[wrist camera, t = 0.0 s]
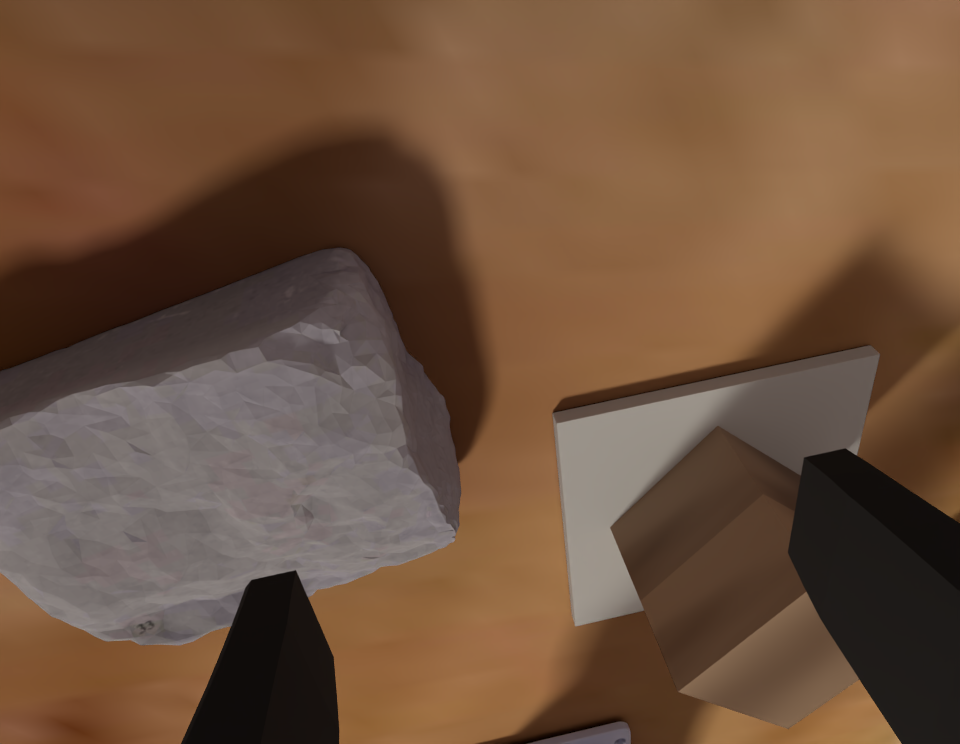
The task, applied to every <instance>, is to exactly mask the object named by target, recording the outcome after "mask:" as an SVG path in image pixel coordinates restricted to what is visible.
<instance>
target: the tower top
mask: <svg viewBox="0 0 960 744" xmlns="http://www.w3.org/2000/svg"><path fill="white" fill-rule="evenodd" d="M794 513H795V511H793V510H791V509H789V508H787V507H786V506H784V505H782V504H780V503H778V502H777V501H775V500H773V499H771V498H770V497H768V496H766V495H764V494H763V495H762V496H761V497H759V498H758V499H757V500H756V501H755V502H754V503H752V504H751V505H750V506H749V507H748V508H747V509H746V510H744V511H743V512H742V513H741V514H740V515H739V516H738V517H736V518H735V519H734V520H733V521H732V522H731V523H729V524H728V525H727V526H726V527H725V528H724V529H723V530H721V531H720V532H719V533H718V534H717V535H716V536H715V537H713V538H712V539H711V540H710V541H709V542H708V543H706V544H705V545H704V546H703V547H702V548H701V549H700V550H698V551H697V552H696V553H695V554H694V555H693V556H692V557H690V558H689V559H688V560H687V561H686V562H685V563H683V564H682V565H681V566H680V567H679V568H678V569H677V570H675V571H674V572H673V573H672V574H671V575H670V576H669V577H667V578H666V579H665V580H664V581H663V582H662V583H660V584H659V585H658V586H657V587H656V588H655V589H654V590H652V591H651V592H650V593H649V594H648V595H647V596H646V597H644V598H643V599H642V600H641V604H642V606H643V609H644V611H645V614H646V616H647V618H648V621H649V623H650V626H651V628H652V630H653V633H654V635H655V638H656V640H657V642H658V645H659V647H660V650H661V652H662V655H663V657H664V659H665V662H666V664H667V667H668V669H669V671H670V674H671V676H672V679H673V681H674V684H675V686H676V688H677V691H678V692H680V693H683V694H686V695H689V696H692V697H695V698H698V699H701V700H704V701H707V702H710V703H713V704H716V705H719V706H721V707H724V708H727V709H730V710H733V711H736V712H739V713H742V714H745V715H748V716H751V717H754V718H757V719H760V720H763V721H766V722H769V723H772V724H775V725H778V726H781V727H784V728H787V729H789V728H790V727H792V726H793V725H795V724H796V723H797V722H799V721H800V720H802V719H803V718H805V717H806V716H808V715H809V714H810V713H812V712H813V711H815V710H816V709H818V708H819V707H820V706H822V705H823V704H825V703H826V702H828V701H829V700H830V699H832V698H833V697H835V696H836V695H838V694H839V693H840V692H842V691H843V690H845V689H846V688H848V687H849V686H850V685H852V684H853V683H855V682H856V681H858V680H859V678H858V676H857V675H856V673H855V672H854V670H853V669H852V667H851V666H850V664H849V663H848V661H847V660H846V658H845V657H844V655H843V653H842V652H841V650H840V649H839V647H838V646H837V644H836V643H835V641H834V640H833V638H832V636H831V635H830V633H829V632H828V630H827V629H826V627H825V625H824V624H823V622H822V621H821V619H820V617H819V615H818V613H817V611H816V610H815V608H814V606H813V604H812V602H811V600H810V598H809V596H808V594H807V592H806V590H805V588H804V586H803V584H802V582H801V580H800V578H799V575H798V573H797V571H796V569H795V567H794V565H793V563H792V561H791V559H790V557H789V554H788V548H789V542H790V536H791V530H792V524H793V519H794Z"/></svg>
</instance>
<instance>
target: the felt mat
mask: <svg viewBox="0 0 960 744" xmlns="http://www.w3.org/2000/svg"><path fill="white" fill-rule="evenodd" d="M879 357H880V354H879V353H878V352H877V351H876V350H875V349H874V348H873V347H872V346H871V345H869V346H864V347H860V348H855V349H850V350H845V351H841V352H836V353H831V354H827V355H822V356H817V357H813V358H808V359H803V360H799V361H794V362H789V363H785V364H780V365H775V366H770V367H766V368H761V369H756V370H752V371H747V372H742V373H738V374H733V375H728V376H724V377H719V378H714V379H710V380H705V381H700V382H695V383H691V384H686V385H681V386H677V387H672V388H667V389H663V390H658V391H653V392H649V393H644V394H639V395H635V396H630V397H625V398H620V399H616V400H611V401H606V402H602V403H597V404H592V405H588V406H583V407H578V408H574V409H569V410H564V411H560V412H555V413H553V424H554V434H555V444H556V455H557V465H558V476H559V486H560V497H561V507H562V517H563V528H564V538H565V549H566V559H567V570H568V580H569V590H570V601H571V611H572V617H573V620H574V623H575V626H580V625H584V624H588V623H593V622H597V621H601V620H606V619H610V618H614V617H619V616H623V615H627V614H632V613H636V612H640V611H644V609H643V606H642V604H641V601H640V599H639V597H638V594H637V592H636V589H635V587H634V585H633V582H632V580H631V577H630V575H629V572H628V570H627V568H626V565H625V563H624V560H623V558H622V556H621V553H620V551H619V548H618V546H617V544H616V541H615V539H614V536H613V534H612V531H611V529H610V527H611V526H612V525H613V524H614V523H615V522H616V521H617V520H618V519H619V518H620V517H622V516H623V515H624V514H625V513H626V512H627V511H628V510H629V509H630V508H631V507H632V506H633V505H634V504H635V503H636V502H637V501H638V500H639V499H641V498H642V497H643V496H644V495H645V494H646V493H647V492H648V491H649V490H650V489H651V488H652V487H653V486H654V485H655V484H656V483H657V482H659V481H660V480H661V479H662V478H663V477H664V476H665V475H666V474H667V473H668V472H669V471H670V470H671V469H672V468H673V467H674V466H675V465H677V464H678V463H679V462H680V461H681V460H682V459H683V458H684V457H685V456H686V455H687V454H688V453H689V452H690V451H691V450H692V449H693V448H695V447H696V446H697V445H698V444H699V443H700V442H701V441H702V440H703V439H704V438H705V437H706V436H707V435H708V434H709V433H710V432H711V431H713V430H714V429H715V428H716V427H717V426H719V427H721V428H723V429H724V430H726V431H728V432H729V433H731V434H733V435H734V436H736V437H738V438H739V439H741V440H742V441H744V442H746V443H747V444H749V445H751V446H752V447H754V448H756V449H757V450H759V451H761V452H762V453H764V454H766V455H767V456H769V457H771V458H772V459H774V460H776V461H777V462H779V463H781V464H782V465H784V466H786V467H787V468H789V469H791V470H792V471H794V472H796V473H797V474H799V475H801V472H802V466H803V460H804V457H808V456H812V455H817V454H821V453H826V452H830V451H835V450H839V449H844V448H846V449H847V450H849V451H850V452H852V453H854V454H855V455H857V453H858V449H859V445H860V440H861V436H862V431H863V427H864V423H865V418H866V414H867V410H868V405H869V401H870V396H871V392H872V388H873V383H874V379H875V375H876V370H877V366H878V361H879Z"/></svg>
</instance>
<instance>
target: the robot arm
mask: <svg viewBox="0 0 960 744" xmlns="http://www.w3.org/2000/svg"><path fill="white" fill-rule="evenodd" d="M788 554H789V557H790V559H791V561H792V563H793V565H794V567H795V569H796V571H797V573H798V575H799V578H800V580H801V582H802V584H803V586H804V588H805V590H806V592H807V594H808V596H809V598H810V600H811V602H812V604H813V606H814V608H815V610H816V611H817V613H818V615H819V617H820V619H821V621H822V622H823V624H824V625H825V627H826V629H827V630H828V632H829V633H830V635H831V636H832V638H833V640H834V641H835V643H836V644H837V646H838V647H839V649H840V650H841V652H842V653H843V655H844V657H845V658H846V660H847V661H848V663H849V664H850V666H851V667H852V669H853V670H854V672H855V673H856V675H857V676H858V678H859V679H860V681H861V683H862V684H863V686H864V687H865V689H866V690H867V692H868V693H869V695H870V696H871V698H872V699H873V701H874V702H875V704H876V705H877V707H878V708H879V710H880V711H881V713H882V714H883V716H884V717H885V719H886V720H887V722H888V723H889V725H890V727H891V728H892V730H893V731H894V733H895V734H896V736H897V737H898V739H899V740H900V742H901V743H902V744H960V523H958V522H957V521H955V520H954V519H952V518H950V517H949V516H947V515H946V514H944V513H943V512H941V511H940V510H938V509H937V508H935V507H934V506H932V505H931V504H929V503H928V502H926V501H925V500H923V499H922V498H920V497H919V496H917V495H916V494H914V493H913V492H911V491H910V490H908V489H907V488H905V487H904V486H902V485H901V484H899V483H898V482H896V481H895V480H893V479H892V478H890V477H889V476H887V475H886V474H884V473H883V472H881V471H879V470H878V469H876V468H875V467H873V466H872V465H870V464H869V463H867V462H866V461H864V460H863V459H861V458H860V457H858V456H857V455H855V454H854V453H852V452H850V451H849V450H847V449H846V448H844V449H839V450H835V451H830V452H826V453H821V454H817V455H812V456H808V457H804V460H803V466H802V472H801V478H800V484H799V489H798V495H797V501H796V507H795V513H794V519H793V524H792V530H791V536H790V542H789V548H788ZM181 744H339V721H338V706H337V693H336V681H335V669H334V657H333V655H332V652H331V650H330V648H329V645H328V643H327V641H326V638H325V636H324V634H323V631H322V629H321V627H320V624H319V622H318V620H317V617H316V615H315V613H314V611H313V608H312V606H311V604H310V601H309V599H308V597H307V594H306V592H305V590H304V587H303V585H302V583H301V580H300V578H299V576H298V573H297V571H296V570H294V571H289V572H285V573H280V574H276V575H271V576H267V577H262V578H258V579H253V580H251V581H250V582H249V584H248V585H247V586H246V588H245V590H244V593H243V596H242V599H241V601H240V604H239V607H238V610H237V612H236V615H235V617H234V620H233V623H232V625H231V628H230V631H229V633H228V636H227V638H226V641H225V643H224V646H223V648H222V651H221V653H220V656H219V658H218V661H217V663H216V665H215V668H214V670H213V673H212V675H211V677H210V680H209V682H208V685H207V687H206V689H205V691H204V694H203V696H202V698H201V700H200V703H199V705H198V707H197V709H196V712H195V714H194V716H193V718H192V720H191V723H190V725H189V727H188V729H187V732H186V734H185V736H184V738H183V741H182V743H181ZM527 744H631V732H630V729H629V726H628V724H627V723H625V722H621V721H620V722H615V723H610V724H606V725H602V726H598V727H594V728H590V729H585V730H581V731H577V732H573V733H569V734H564V735H560V736H556V737H552V738H548V739H544V740H539V741H535V742H531V743H527Z"/></svg>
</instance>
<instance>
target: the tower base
mask: <svg viewBox="0 0 960 744" xmlns="http://www.w3.org/2000/svg"><path fill="white" fill-rule="evenodd" d="M800 478H801V475H799V474H797V473H796V472H794V471H792V470H791V469H789V468H787V467H786V466H784V465H782V464H781V463H779V462H777V461H776V460H774V459H772V458H771V457H769V456H767V455H766V454H764V453H762V452H761V451H759V450H757V449H756V448H754V447H752V446H751V445H749V444H747V443H746V442H744V441H742V440H741V439H739V438H738V437H736V436H734V435H733V434H731V433H729V432H728V431H726V430H724V429H723V428H721V427H719V426H717V427H716V428H715V429H714V430H713V431H711V432H710V433H709V434H708V435H707V436H706V437H705V438H704V439H703V440H702V441H701V442H700V443H699V444H698V445H697V446H696V447H695V448H693V449H692V450H691V451H690V452H689V453H688V454H687V455H686V456H685V457H684V458H683V459H682V460H681V461H680V462H679V463H678V464H677V465H675V466H674V467H673V468H672V469H671V470H670V471H669V472H668V473H667V474H666V475H665V476H664V477H663V478H662V479H661V480H660V481H659V482H657V483H656V484H655V485H654V486H653V487H652V488H651V489H650V490H649V491H648V492H647V493H646V494H645V495H644V496H643V497H642V498H641V499H639V500H638V501H637V502H636V503H635V504H634V505H633V506H632V507H631V508H630V509H629V510H628V511H627V512H626V513H625V514H624V515H623V516H622V517H620V518H619V519H618V520H617V521H616V522H615V523H614V524H613V525H612V526H611V527H610V529H611V531H612V534H613V536H614V539H615V541H616V544H617V546H618V548H619V551H620V553H621V556H622V558H623V560H624V563H625V565H626V568H627V570H628V572H629V575H630V577H631V580H632V582H633V585H634V587H635V589H636V592H637V594H638V597H639V599H640V601H641V600H642V599H643V598H644V597H646V596H647V595H648V594H649V593H650V592H651V591H652V590H654V589H655V588H656V587H657V586H658V585H659V584H660V583H662V582H663V581H664V580H665V579H666V578H667V577H669V576H670V575H671V574H672V573H673V572H674V571H675V570H677V569H678V568H679V567H680V566H681V565H682V564H683V563H685V562H686V561H687V560H688V559H689V558H690V557H692V556H693V555H694V554H695V553H696V552H697V551H698V550H700V549H701V548H702V547H703V546H704V545H705V544H706V543H708V542H709V541H710V540H711V539H712V538H713V537H715V536H716V535H717V534H718V533H719V532H720V531H721V530H723V529H724V528H725V527H726V526H727V525H728V524H729V523H731V522H732V521H733V520H734V519H735V518H736V517H738V516H739V515H740V514H741V513H742V512H743V511H744V510H746V509H747V508H748V507H749V506H750V505H751V504H752V503H754V502H755V501H756V500H757V499H758V498H759V497H761V496H762V495H763V494H764V495H766V496H768V497H770V498H771V499H773V500H775V501H777V502H778V503H780V504H782V505H784V506H786V507H787V508H789V509H791V510H793V511H795V507H796V501H797V495H798V489H799V484H800Z"/></svg>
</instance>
